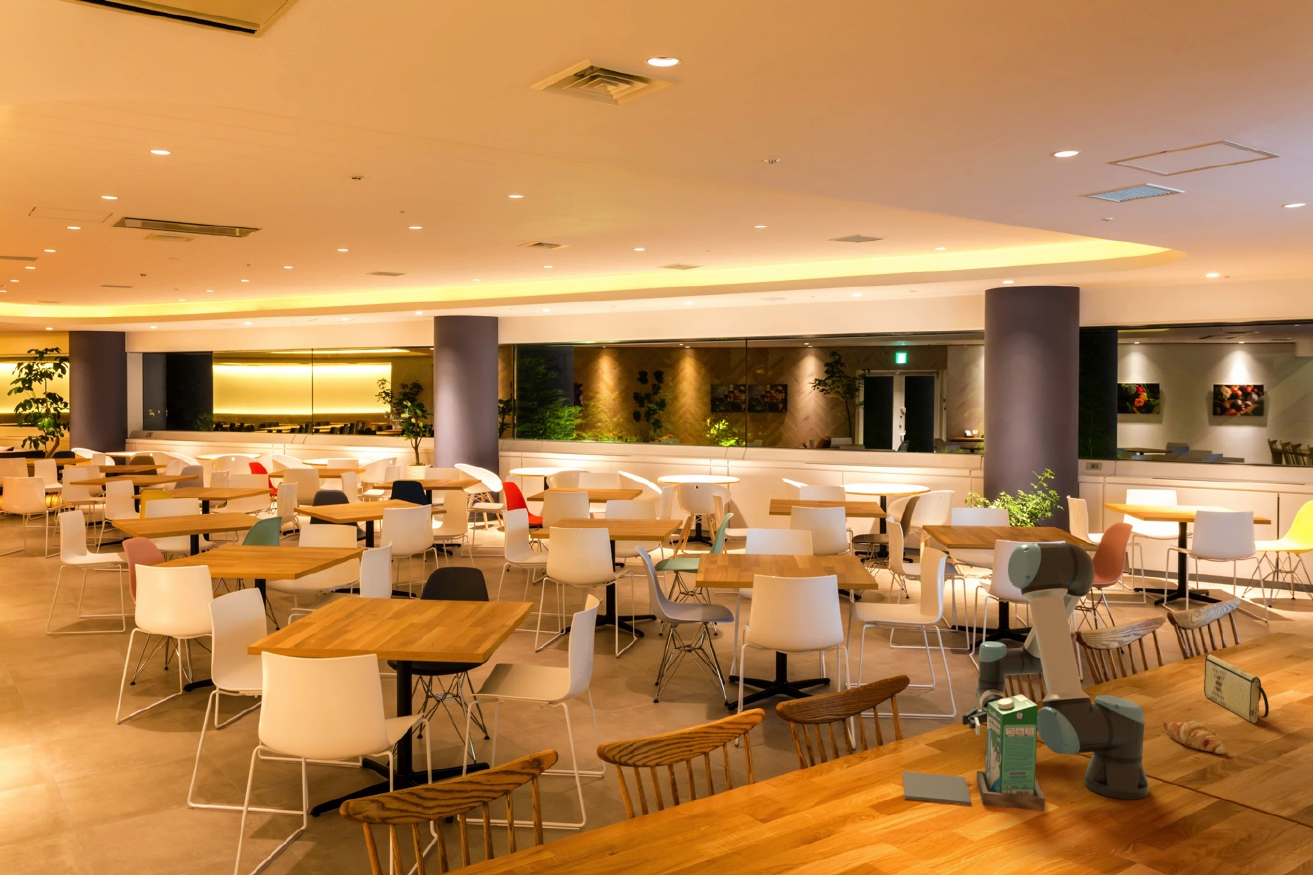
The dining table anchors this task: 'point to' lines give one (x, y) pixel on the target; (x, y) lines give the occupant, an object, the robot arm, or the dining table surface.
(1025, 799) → the frame
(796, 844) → the dining table surface
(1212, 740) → the croissant
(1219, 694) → the clutch purse
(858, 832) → the dining table surface
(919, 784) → the slate coaster
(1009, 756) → the milk carton
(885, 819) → the dining table surface
